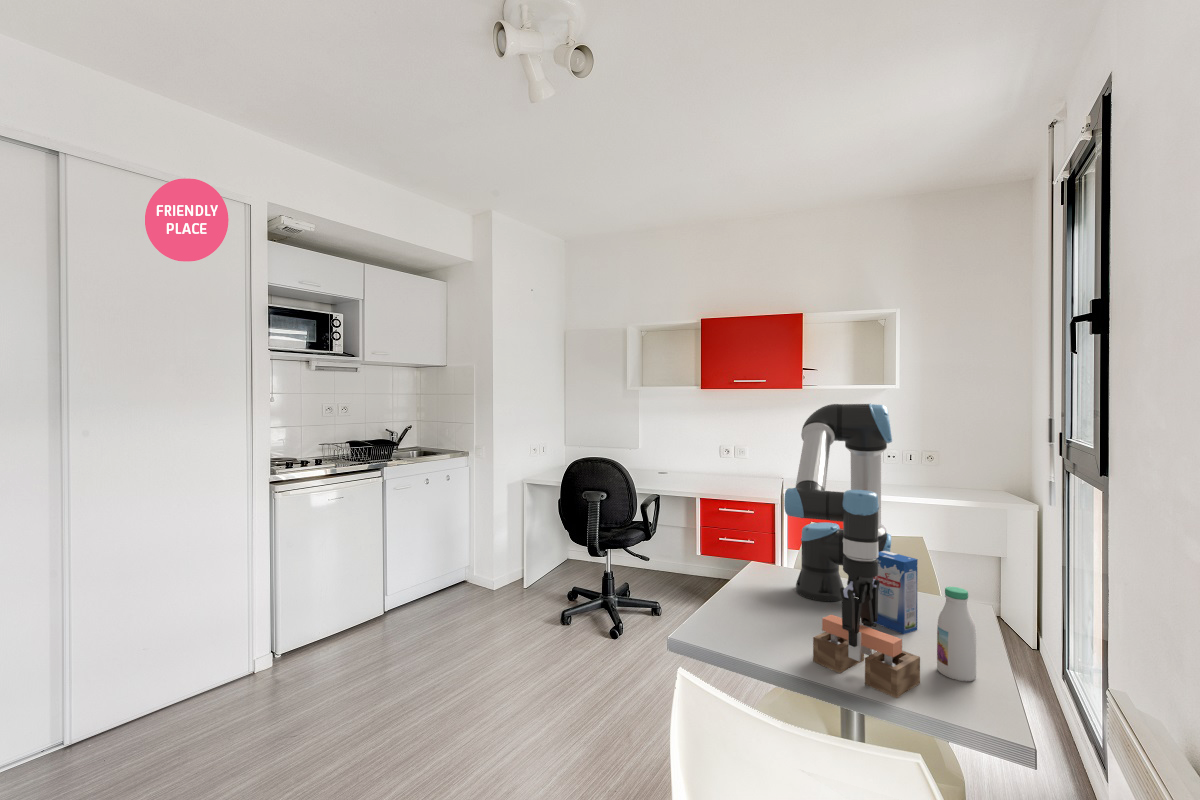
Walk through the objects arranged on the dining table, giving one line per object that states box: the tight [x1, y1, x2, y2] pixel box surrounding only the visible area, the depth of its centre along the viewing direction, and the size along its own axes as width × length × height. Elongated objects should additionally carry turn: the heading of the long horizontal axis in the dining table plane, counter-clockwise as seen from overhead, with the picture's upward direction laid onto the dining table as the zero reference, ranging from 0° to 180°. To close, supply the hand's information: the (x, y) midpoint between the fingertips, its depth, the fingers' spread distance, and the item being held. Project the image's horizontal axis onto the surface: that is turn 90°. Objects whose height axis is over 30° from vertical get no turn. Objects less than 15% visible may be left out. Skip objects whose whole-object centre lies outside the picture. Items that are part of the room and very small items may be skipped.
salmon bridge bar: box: [821, 614, 903, 667], centre depth 125 cm, size 17×4×7 cm, turn 35°
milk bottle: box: [936, 586, 977, 682], centre depth 126 cm, size 8×8×20 cm
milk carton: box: [872, 551, 919, 635], centre depth 153 cm, size 10×6×20 cm, turn 27°
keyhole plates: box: [812, 631, 921, 699], centre depth 126 cm, size 11×20×6 cm, turn 35°
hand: (860, 655), depth 125 cm, fingers closed on salmon bridge bar, 4 cm apart
